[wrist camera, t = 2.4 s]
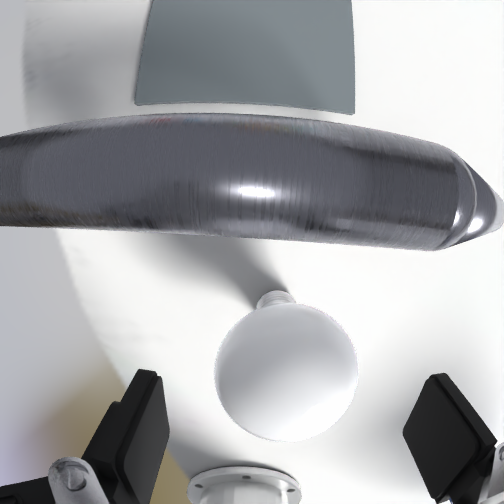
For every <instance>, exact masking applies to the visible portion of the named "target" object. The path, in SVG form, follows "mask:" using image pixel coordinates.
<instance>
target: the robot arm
mask: <svg viewBox="0 0 504 504" xmlns="http://www.w3.org/2000/svg"><path fill="white" fill-rule="evenodd" d="M403 436H404V439H405V441H406V443H407V445H408V447H409V449H410V451H411V454H412V456H413V458H414V460H415V462H416V465H417V467H418V469H419V471H420V473H421V476H422V478H423V480H424V482H425V485H426V487H427V489H428V492H429V494H430V496H431V498H433V499H435V501H436V504H439V503H442V502H445V501H447V500H449V499H450V498H451V500H452V503H451V504H504V443H501V444H500V445H498V447H497V448H495V446H494V445H495V444H496V443H497V440H496V438H495V437H494V435H493V434H492V433H491V431H490V430H489V428H488V427H487V426H486V424H485V423H484V422H483V420H482V419H481V418H480V416H479V415H478V414H477V412H476V411H475V410H474V408H473V407H472V406H471V404H470V403H469V402H468V400H467V399H466V398H465V396H464V395H463V394H462V393H461V391H460V390H459V389H458V388H457V386H456V385H455V384H454V382H453V381H452V380H451V379H450V377H449V376H448V375H447V374H446V373H440V374H433V375H431V376H430V377H429V379H427V380H426V382H425V384H424V386H423V388H422V391H421V393H420V395H419V397H418V400H417V402H416V404H415V406H414V408H413V410H412V412H411V414H410V416H409V418H408V420H407V422H406V424H405V426H404V428H403ZM168 438H169V423H168V417H167V411H166V404H165V397H164V390H163V382H162V377H161V376H157V373H156V372H155V371H149V370H143V369H138V371H137V372H136V374H135V376H134V378H133V380H132V381H131V383H130V385H129V387H128V389H127V391H126V392H125V394H124V396H123V398H122V400H121V402H116V401H114V402H113V403H112V404H111V405H110V407H109V409H108V410H107V412H106V414H105V416H104V417H103V419H102V421H101V423H100V425H99V426H98V428H97V430H96V432H95V434H94V436H93V437H92V439H91V441H90V443H89V445H88V447H87V448H86V450H85V452H84V454H83V456H82V458H81V459H79V458H75V457H64V458H61V459H58V460H57V461H56V462H54V463H53V464H52V465H51V467H50V468H49V472H48V476H47V477H43V478H38V479H34V480H30V481H25V482H21V483H16V484H10V485H5V486H1V487H0V504H149V503H150V499H151V495H152V492H153V489H154V485H155V482H156V478H157V475H158V471H159V468H160V465H161V461H162V458H163V455H164V451H165V448H166V445H167V442H168ZM187 496H188V498H189V500H190V502H191V503H192V504H299V503H300V501H301V497H302V494H301V488H300V486H299V484H298V483H297V482H296V481H295V480H294V479H293V478H291V477H289V476H287V475H285V474H282V473H280V472H277V471H273V470H269V469H264V468H257V467H223V468H217V469H212V470H208V471H205V472H202V473H200V474H198V475H196V476H195V477H194V478H193V479H191V480H190V482H189V484H188V489H187Z"/></svg>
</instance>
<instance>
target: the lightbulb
mask: <svg viewBox="0 0 504 504" xmlns="http://www.w3.org/2000/svg"><path fill="white" fill-rule="evenodd" d="M358 376H359V366H358V358H357V354H356V350H355V347H354V345H353V343H352V341H351V339H350V337H349V335H348V334H347V332H346V331H345V330H344V328H343V327H342V326H341V325H340V324H339V323H338V322H337V321H336V320H335V319H333V318H332V317H331V316H329V315H328V314H326V313H325V312H323V311H321V310H319V309H317V308H314V307H312V306H308V305H304V304H299V303H296V301H295V299H294V298H293V297H292V296H291V295H290V294H288V293H287V292H284V291H278V290H277V291H271V292H268V293H266V294H265V295H263V296H262V297H261V298H260V300H259V301H258V303H257V307H256V310H255V311H253V312H251V313H249V314H248V315H246V316H245V317H243V318H242V319H241V320H239V321H238V322H237V323H236V324H235V325H234V326H233V327H232V328H231V329H230V331H229V332H228V333H227V335H226V336H225V338H224V340H223V341H222V343H221V345H220V348H219V350H218V353H217V356H216V361H215V368H214V380H215V387H216V392H217V395H218V398H219V400H220V403H221V405H222V406H223V408H224V410H225V411H226V413H227V414H228V415H229V417H230V418H231V419H232V420H233V421H234V422H235V423H236V424H237V425H238V426H240V427H241V428H242V429H244V430H245V431H247V432H248V433H250V434H252V435H254V436H256V437H259V438H262V439H265V440H269V441H275V442H294V441H300V440H304V439H308V438H311V437H313V436H316V435H318V434H320V433H322V432H323V431H325V430H327V429H328V428H329V427H331V426H332V425H333V424H334V423H336V422H337V421H338V420H339V419H340V417H341V416H342V415H343V414H344V413H345V411H346V410H347V408H348V407H349V405H350V403H351V401H352V399H353V397H354V394H355V391H356V388H357V383H358Z"/></svg>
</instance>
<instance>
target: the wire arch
mask: <svg viewBox="0 0 504 504" xmlns="http://www.w3.org/2000/svg"><path fill="white" fill-rule="evenodd" d="M503 223H504V202H503V200H502V199H501V198H500V197H499V195H498V194H497V193H496V192H495V191H494V190H493V189H492V188H491V187H490V186H489V185H488V184H487V183H486V182H485V181H484V180H483V179H482V178H481V177H480V176H479V175H478V174H477V173H476V172H475V171H474V170H473V169H472V168H471V167H470V166H469V165H468V164H467V163H466V162H465V161H464V160H463V159H462V158H460V157H459V156H458V155H457V154H456V153H455V152H453V151H452V150H450V149H448V148H446V147H444V146H441V145H439V144H436V143H433V142H429V141H425V140H421V139H417V138H413V137H409V136H404V135H400V134H395V133H391V132H386V131H381V130H376V129H370V128H365V127H359V126H353V125H347V124H341V123H334V122H327V121H319V120H311V119H302V118H292V117H281V116H269V115H253V114H230V113H172V114H149V115H134V116H122V117H111V118H102V119H94V120H86V121H79V122H72V123H65V124H59V125H53V126H48V127H43V128H37V129H32V130H28V131H23V132H19V133H15V134H10V135H6V136H2V137H0V226H15V227H46V228H68V229H92V230H114V231H134V232H154V233H173V234H191V235H208V236H225V237H241V238H257V239H273V240H288V241H302V242H317V243H331V244H344V245H358V246H371V247H384V248H396V249H409V250H421V251H436V250H441V249H445V248H448V247H451V246H454V245H457V244H460V243H463V242H465V241H468V240H471V239H474V238H477V237H480V236H482V235H485V234H488V233H491V232H493V231H496V230H498V229H499V228H500V227H501V226H502V225H503Z"/></svg>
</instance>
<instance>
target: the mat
mask: <svg viewBox="0 0 504 504" xmlns="http://www.w3.org/2000/svg"><path fill="white" fill-rule="evenodd" d="M172 103H239V104H259V105H274V106H285V107H296V108H305V109H313V110H321V111H328V112H335V113H342V114H348V115H353V114H354V113H355V56H354V32H353V16H352V3H351V0H153V3H152V7H151V12H150V16H149V20H148V25H147V29H146V34H145V39H144V45H143V50H142V55H141V61H140V67H139V74H138V80H137V87H136V95H135V103H134V104H136V105H152V104H172Z"/></svg>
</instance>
